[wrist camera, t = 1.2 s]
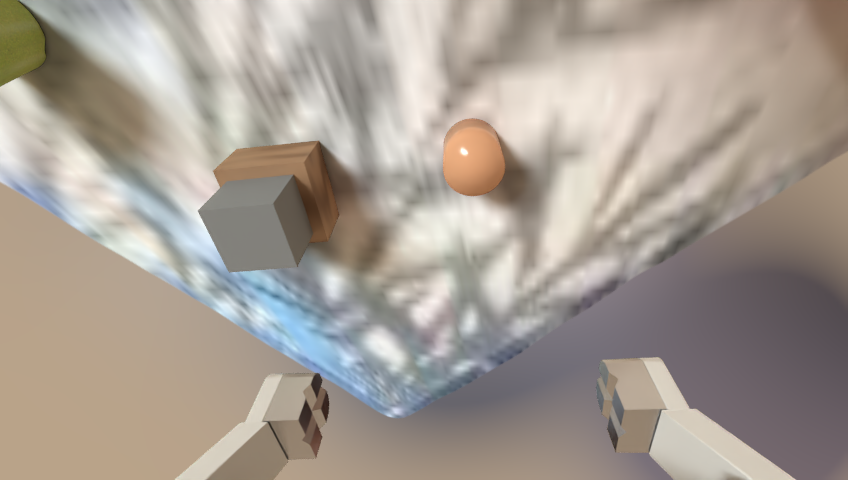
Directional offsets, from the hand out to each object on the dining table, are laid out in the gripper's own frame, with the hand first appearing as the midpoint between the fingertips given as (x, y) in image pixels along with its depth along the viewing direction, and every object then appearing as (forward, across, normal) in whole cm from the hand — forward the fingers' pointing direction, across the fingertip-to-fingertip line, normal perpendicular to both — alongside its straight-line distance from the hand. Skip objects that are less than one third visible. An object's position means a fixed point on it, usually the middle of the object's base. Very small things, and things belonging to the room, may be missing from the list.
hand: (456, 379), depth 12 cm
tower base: (+29, +16, +5) cm, 33 cm away
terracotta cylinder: (+28, -2, +3) cm, 29 cm away
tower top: (+24, +17, +5) cm, 29 cm away
